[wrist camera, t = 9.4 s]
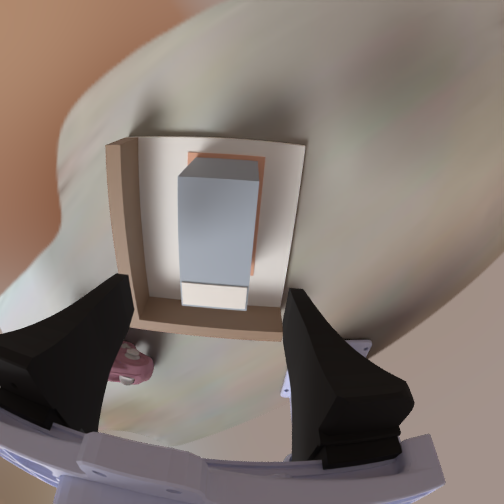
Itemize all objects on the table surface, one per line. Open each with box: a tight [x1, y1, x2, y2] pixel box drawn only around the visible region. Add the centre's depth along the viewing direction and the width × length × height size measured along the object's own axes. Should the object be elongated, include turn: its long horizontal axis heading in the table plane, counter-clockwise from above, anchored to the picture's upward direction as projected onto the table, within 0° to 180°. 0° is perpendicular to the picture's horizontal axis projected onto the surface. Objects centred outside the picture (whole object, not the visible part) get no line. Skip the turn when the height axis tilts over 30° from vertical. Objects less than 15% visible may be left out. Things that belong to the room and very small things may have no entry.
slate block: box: [178, 157, 259, 311], centre depth 18 cm, size 4×8×5 cm, turn 175°
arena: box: [105, 136, 305, 342], centre depth 20 cm, size 14×12×4 cm
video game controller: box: [108, 341, 154, 385], centre depth 25 cm, size 10×5×7 cm, turn 74°
